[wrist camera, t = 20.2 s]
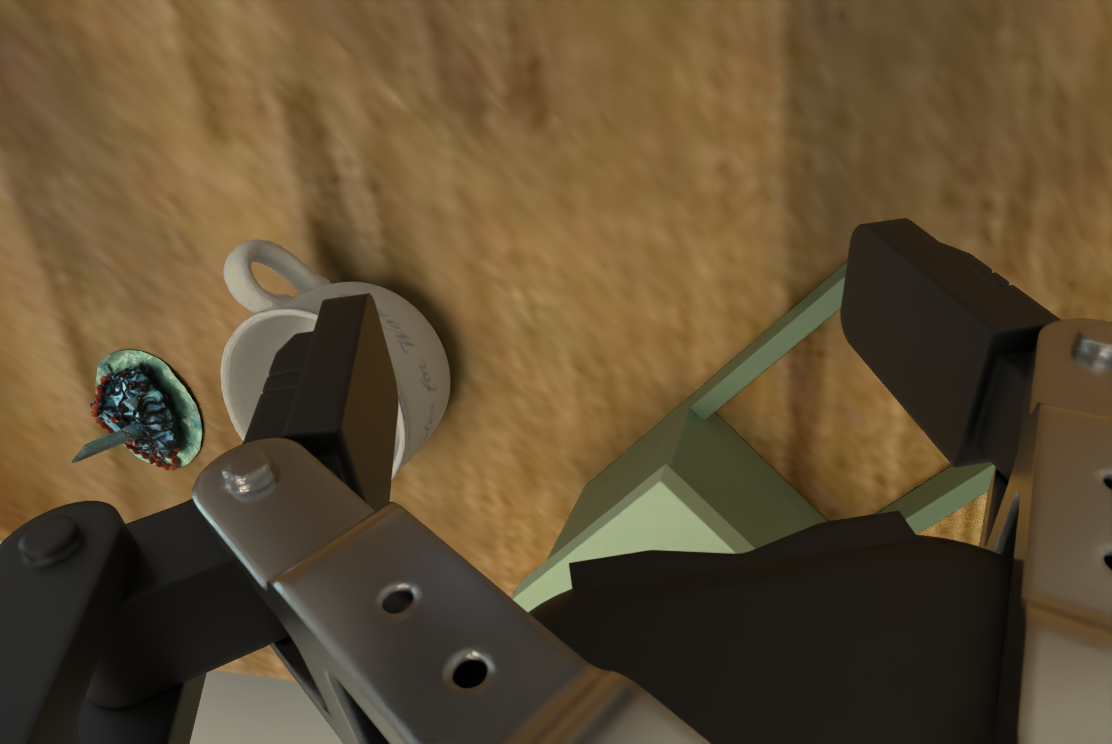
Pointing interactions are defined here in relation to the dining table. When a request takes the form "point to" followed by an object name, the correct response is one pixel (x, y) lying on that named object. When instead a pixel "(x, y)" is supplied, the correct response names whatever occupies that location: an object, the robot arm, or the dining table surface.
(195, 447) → the dish
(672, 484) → the olive green stepped block
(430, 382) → the teacup
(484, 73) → the dining table surface
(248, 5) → the dining table surface
